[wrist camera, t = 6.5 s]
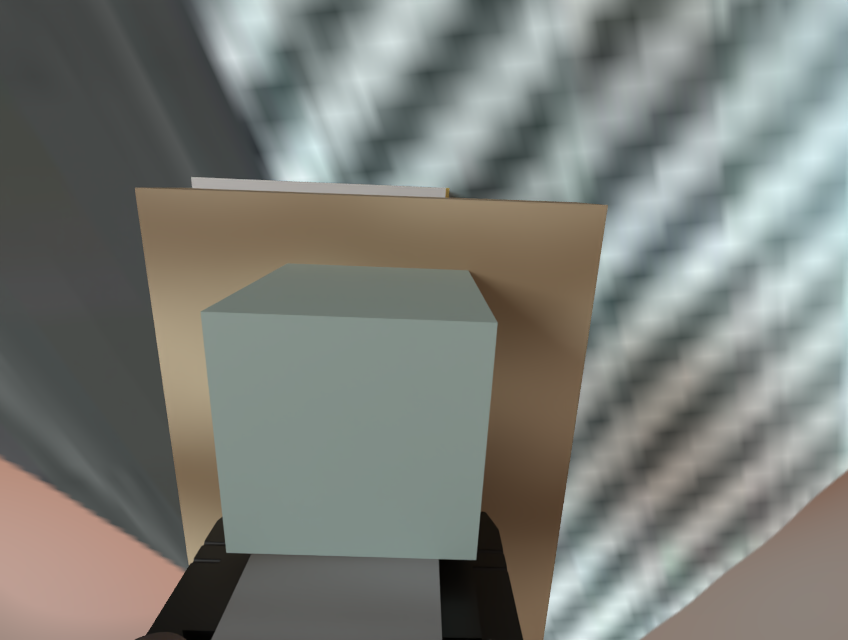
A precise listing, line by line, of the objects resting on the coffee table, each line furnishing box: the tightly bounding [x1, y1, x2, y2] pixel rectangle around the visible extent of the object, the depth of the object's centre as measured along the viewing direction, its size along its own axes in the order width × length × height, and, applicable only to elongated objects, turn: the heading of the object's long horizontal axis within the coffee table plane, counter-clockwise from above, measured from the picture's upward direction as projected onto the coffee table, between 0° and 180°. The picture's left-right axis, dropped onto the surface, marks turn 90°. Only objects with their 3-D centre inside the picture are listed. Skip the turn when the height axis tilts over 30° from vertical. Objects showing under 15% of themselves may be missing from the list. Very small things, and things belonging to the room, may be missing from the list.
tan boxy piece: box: [135, 188, 608, 640], centre depth 9 cm, size 14×10×10 cm
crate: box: [201, 263, 498, 560], centre depth 8 cm, size 4×4×4 cm
